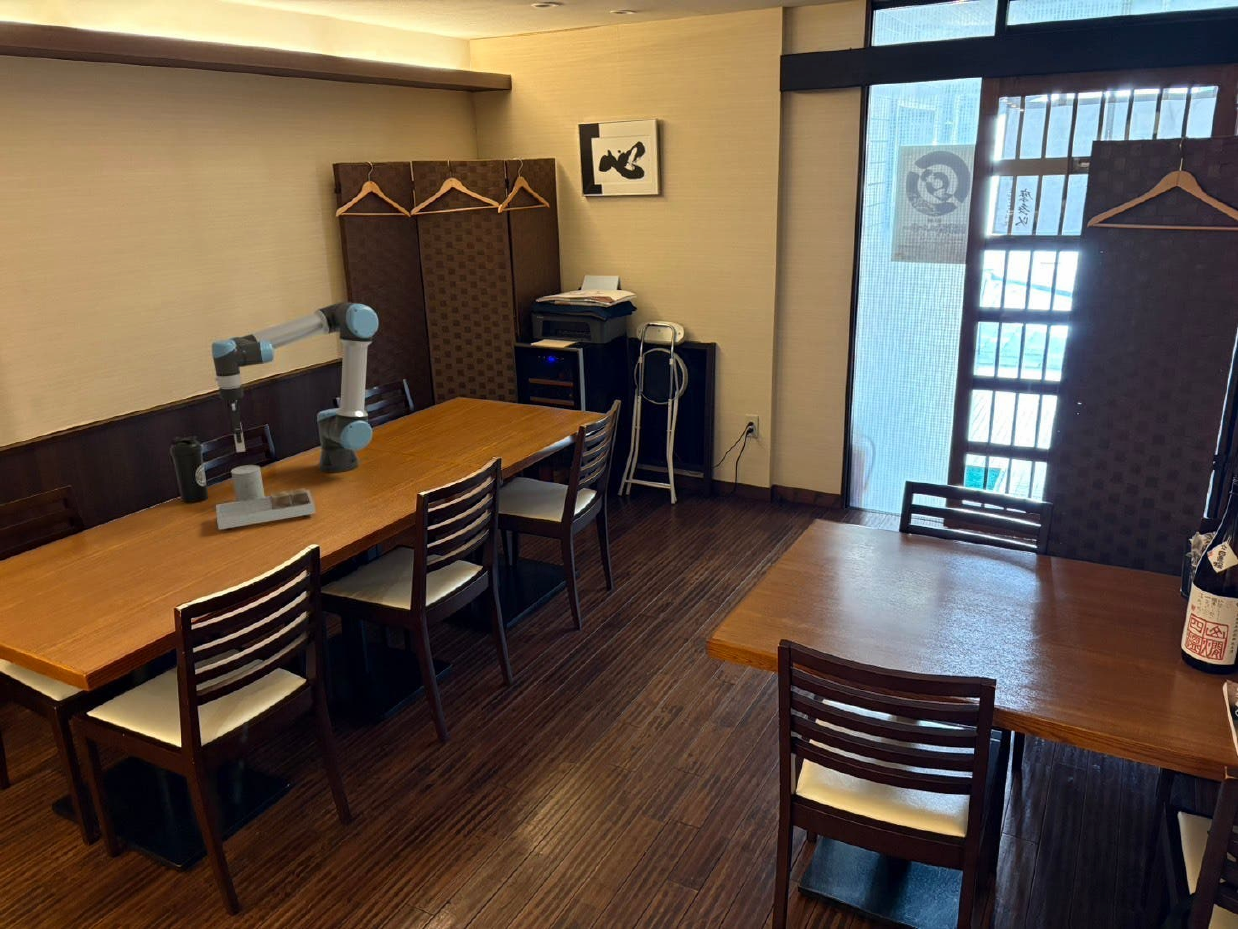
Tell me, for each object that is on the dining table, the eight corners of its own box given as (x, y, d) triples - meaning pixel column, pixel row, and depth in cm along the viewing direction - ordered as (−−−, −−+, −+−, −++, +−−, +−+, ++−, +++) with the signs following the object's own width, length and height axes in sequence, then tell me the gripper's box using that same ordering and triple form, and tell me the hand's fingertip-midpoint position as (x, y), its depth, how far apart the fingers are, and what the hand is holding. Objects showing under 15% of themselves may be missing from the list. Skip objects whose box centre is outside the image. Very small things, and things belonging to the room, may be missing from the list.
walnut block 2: (307, 501, 309) (305, 488, 308) (308, 506, 305) (306, 492, 303) (291, 504, 307) (289, 490, 306) (293, 509, 303) (291, 495, 301)
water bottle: (203, 504, 317) (191, 442, 310) (174, 504, 317) (162, 442, 310) (215, 494, 327) (204, 433, 319) (188, 494, 327) (176, 434, 320)
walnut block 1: (287, 504, 307) (285, 491, 306) (291, 508, 303) (289, 495, 302) (272, 508, 305) (269, 494, 303) (276, 512, 301) (273, 498, 299)
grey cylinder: (270, 497, 322) (265, 465, 318) (257, 507, 313) (252, 474, 309) (244, 497, 323) (239, 464, 319) (231, 507, 314) (225, 473, 310)
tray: (310, 503, 315) (308, 489, 313) (316, 517, 302) (314, 503, 300) (218, 518, 303) (215, 504, 302) (219, 533, 290) (217, 519, 289)
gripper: (217, 380, 314) (227, 438, 321) (218, 395, 292) (229, 457, 299) (240, 377, 317) (250, 435, 324) (243, 392, 295) (253, 454, 302)
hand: (240, 446), depth 311 cm, fingers open, 13 cm apart
